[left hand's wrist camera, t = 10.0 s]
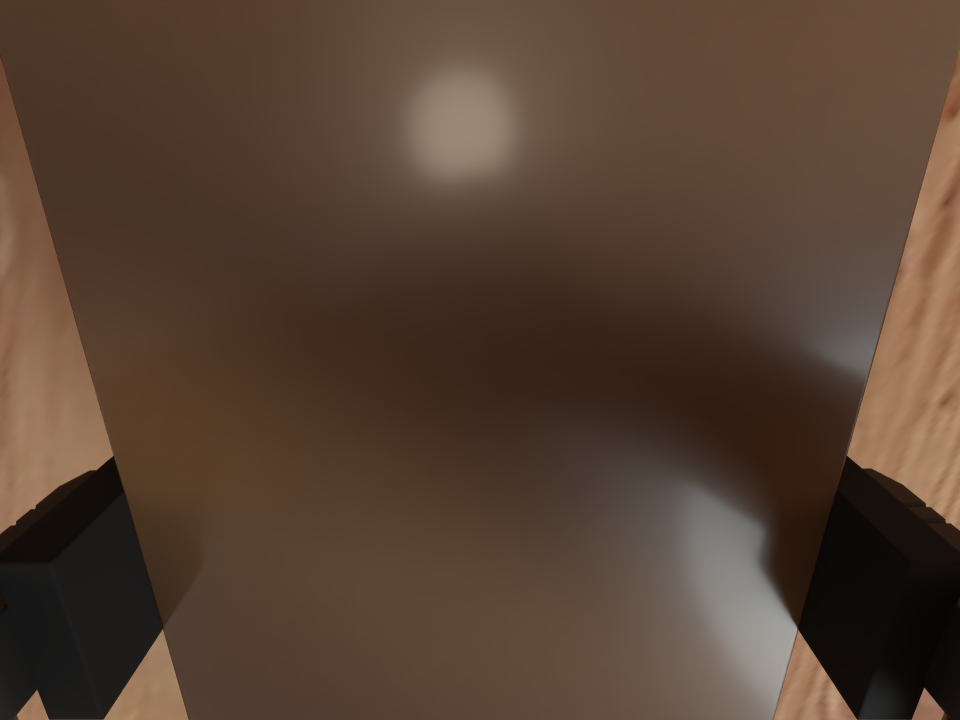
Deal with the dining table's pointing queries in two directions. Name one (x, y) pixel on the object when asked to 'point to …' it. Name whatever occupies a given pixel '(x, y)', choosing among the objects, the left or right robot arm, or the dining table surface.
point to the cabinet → (479, 329)
